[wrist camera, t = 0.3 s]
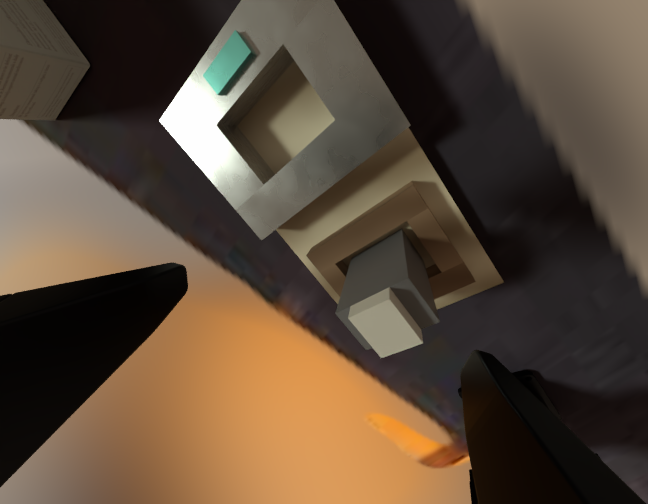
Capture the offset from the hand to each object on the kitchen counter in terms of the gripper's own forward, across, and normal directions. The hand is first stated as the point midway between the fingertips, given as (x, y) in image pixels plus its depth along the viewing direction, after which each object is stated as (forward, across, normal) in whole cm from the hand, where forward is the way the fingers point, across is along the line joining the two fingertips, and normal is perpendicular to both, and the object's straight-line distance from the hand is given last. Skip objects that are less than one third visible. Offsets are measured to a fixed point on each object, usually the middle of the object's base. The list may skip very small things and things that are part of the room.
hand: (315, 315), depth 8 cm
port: (+13, +6, -5) cm, 15 cm away
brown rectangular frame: (+13, -3, +3) cm, 14 cm away
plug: (+12, -3, +3) cm, 13 cm away
